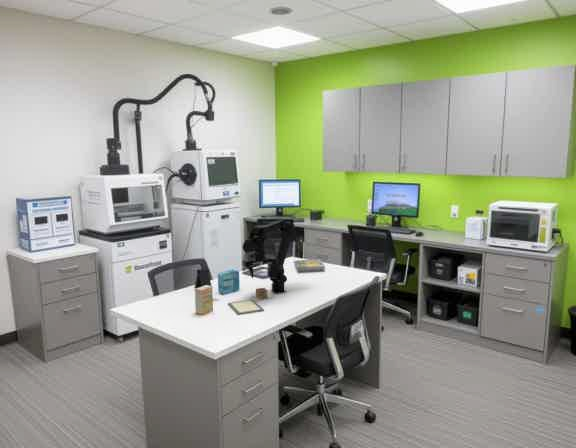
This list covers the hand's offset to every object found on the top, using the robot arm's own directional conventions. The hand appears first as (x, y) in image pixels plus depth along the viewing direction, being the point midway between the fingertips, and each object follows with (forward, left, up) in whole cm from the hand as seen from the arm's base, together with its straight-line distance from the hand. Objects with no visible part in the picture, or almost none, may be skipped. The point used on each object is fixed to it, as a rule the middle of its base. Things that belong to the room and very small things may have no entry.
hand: (260, 277), depth 250 cm
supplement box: (+34, +9, -12) cm, 37 cm away
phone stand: (+25, -32, -12) cm, 42 cm away
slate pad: (+13, +11, -12) cm, 21 cm away
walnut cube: (0, 0, -12) cm, 12 cm away
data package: (+13, -19, -12) cm, 26 cm away
